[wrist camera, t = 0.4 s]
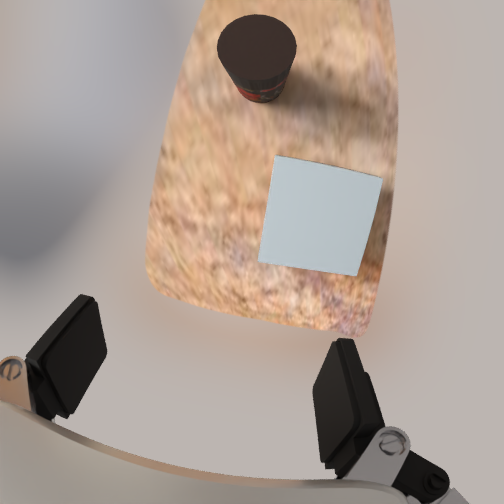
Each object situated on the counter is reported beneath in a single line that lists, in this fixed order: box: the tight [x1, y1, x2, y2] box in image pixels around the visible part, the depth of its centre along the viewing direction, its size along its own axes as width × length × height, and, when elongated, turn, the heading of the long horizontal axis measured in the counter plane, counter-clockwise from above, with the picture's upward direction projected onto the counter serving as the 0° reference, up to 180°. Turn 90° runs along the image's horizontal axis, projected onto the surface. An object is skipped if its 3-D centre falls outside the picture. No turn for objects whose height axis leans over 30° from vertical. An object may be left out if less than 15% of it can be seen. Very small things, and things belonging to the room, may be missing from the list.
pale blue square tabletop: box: [258, 155, 383, 276], centre depth 34 cm, size 12×12×7 cm
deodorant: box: [217, 14, 297, 103], centre depth 24 cm, size 6×6×15 cm
